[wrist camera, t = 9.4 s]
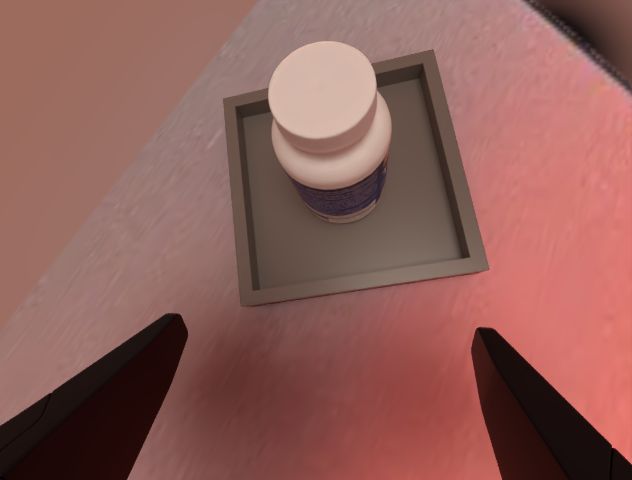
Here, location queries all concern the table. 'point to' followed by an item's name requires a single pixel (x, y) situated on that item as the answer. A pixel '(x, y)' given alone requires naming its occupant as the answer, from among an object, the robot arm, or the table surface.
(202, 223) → the table surface
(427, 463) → the table surface
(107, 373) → the robot arm
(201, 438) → the table surface
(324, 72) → the pill bottle
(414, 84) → the tray
